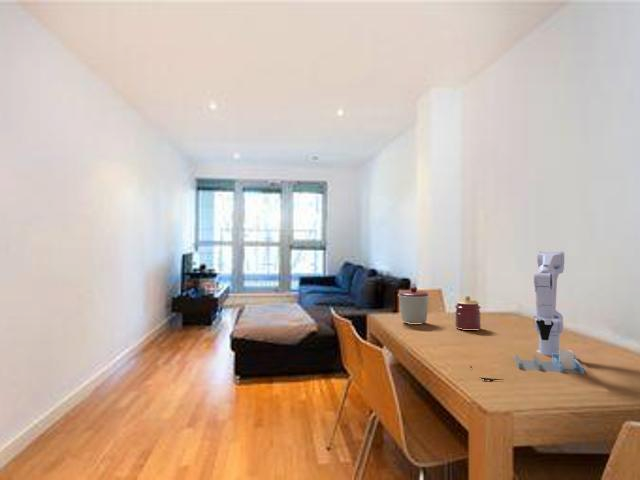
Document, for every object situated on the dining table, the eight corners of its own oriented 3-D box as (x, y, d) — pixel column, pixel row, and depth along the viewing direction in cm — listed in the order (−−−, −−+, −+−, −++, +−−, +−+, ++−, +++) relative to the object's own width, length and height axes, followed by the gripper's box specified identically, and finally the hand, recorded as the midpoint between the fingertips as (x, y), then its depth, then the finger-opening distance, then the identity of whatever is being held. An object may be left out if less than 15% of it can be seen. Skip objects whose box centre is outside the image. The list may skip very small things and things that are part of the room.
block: (559, 365, 156) (558, 349, 156) (571, 366, 154) (571, 350, 154) (561, 368, 152) (561, 352, 152) (574, 369, 150) (573, 353, 150)
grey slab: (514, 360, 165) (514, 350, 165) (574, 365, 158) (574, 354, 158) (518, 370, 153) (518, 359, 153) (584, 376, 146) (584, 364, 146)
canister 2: (484, 331, 217) (484, 297, 217) (459, 331, 217) (459, 297, 217) (475, 326, 230) (475, 294, 230) (452, 326, 230) (451, 294, 230)
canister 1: (391, 322, 244) (391, 286, 244) (417, 319, 251) (416, 284, 251) (411, 328, 227) (410, 289, 227) (437, 324, 235) (436, 287, 235)
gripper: (529, 301, 168) (530, 334, 168) (535, 307, 154) (536, 343, 154) (549, 301, 166) (549, 336, 166) (557, 307, 152) (557, 345, 152)
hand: (544, 339), depth 160 cm, fingers closed
